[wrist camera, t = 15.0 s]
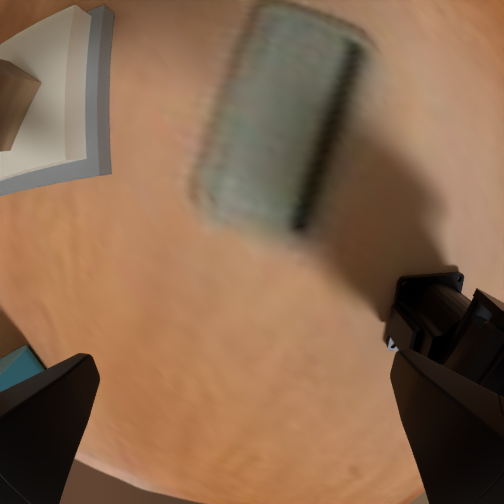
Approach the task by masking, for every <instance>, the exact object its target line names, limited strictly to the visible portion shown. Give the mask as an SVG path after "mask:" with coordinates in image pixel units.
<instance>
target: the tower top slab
mask: <svg viewBox="0 0 504 504" xmlns="http://www.w3.org/2000/svg"><path fill="white" fill-rule="evenodd" d="M91 18H92V16H91V15H89V14H88V13H86V12H85V11H84V10H82V9H81V8H79V7H78V6H77V5H73V6H70V7H68V8H66V9H64V10H61V11H59V12H57V13H55V14H53V15H51V16H49V17H47V18H45V19H43V20H41V21H39V22H37V23H35V24H33V25H32V26H30V27H28V28H26V29H25V30H23V31H21V32H19V33H18V34H16V35H14V36H13V37H11V38H9V39H8V40H6V41H5V42H3V43H2V44H0V59H2V60H6V61H10V62H11V63H13V64H14V65H16V66H17V67H19V68H20V69H22V70H23V71H25V72H26V73H28V74H29V75H31V76H32V77H34V78H35V79H37V80H38V81H40V82H41V83H42V84H41V86H40V87H39V89H38V91H37V93H36V95H35V97H34V99H33V101H32V103H31V105H30V107H29V109H28V111H27V113H26V115H25V117H24V119H23V122H22V124H21V126H20V128H19V131H18V133H17V136H16V138H15V140H14V143H13V145H12V148H11V151H1V152H0V181H1V180H4V179H8V178H11V177H14V176H18V175H21V174H25V173H28V172H32V171H36V170H40V169H44V168H48V167H52V166H56V165H60V164H64V163H69V162H73V161H78V160H83V159H87V156H86V134H85V88H86V67H87V53H88V43H89V33H90V25H91Z"/></svg>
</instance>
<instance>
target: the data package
mask: <svg viewBox="0 0 504 504" xmlns="http://www.w3.org/2000/svg"><path fill="white" fill-rule="evenodd" d="M44 370H45V369H44V368H43V367H42V365H41V364H40V363H39V362H38V360H37V359H36V357H35V356H34V355H33V353H32V352H31V351H30V349H29V348H28V346H27V345H24V346H22V347H20V348H18V349H17V350H15V351H13V352H12V353H10V354H8V355H6V356H5V357H3V358H1V359H0V392H1V391H3V390H5V389H7V388H9V387H11V386H13V385H16V384H18V383H20V382H22V381H24V380H26V379H28V378H30V377H32V376H34V375H36V374H38V373H40V372H42V371H44Z"/></svg>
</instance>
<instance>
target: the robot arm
mask: <svg viewBox="0 0 504 504" xmlns="http://www.w3.org/2000/svg"><path fill="white" fill-rule="evenodd" d="M458 277H459V279H458ZM457 279H458V280H457ZM405 281H406V283H405V284H404V285H403V286H402V284H403V282H405ZM463 281H464V275H463V274H462V273H460V272H451V273H439V274H427V275H414V276H403V277H401V278H399V280H398V282H397V288H396V295H395V301H394V304H393V305H392V309H391V315H390V320H389V326H388V331H387V333H388V340H387V347H388V349H389V350H390V351H394V350H398V351H397V352H396V354H395V357H394V361H393V365H392V369H391V373H390V379H391V383H392V387H393V390H394V394H395V398H396V402H397V406H398V410H399V414H400V418H401V421H402V424H403V427H404V430H405V432H406V435H407V438H408V441H409V443H410V446H411V449H412V452H413V455H414V458H415V461H416V464H417V467H418V470H419V473H420V476H421V479H422V482H423V485H424V488H425V491H426V495H427V498H428V501H429V504H504V303H503V302H501V301H499V300H498V299H496V298H494V297H492V296H490V295H489V294H487V293H485V292H483V291H481V290H479V289H478V288H477V289H476V291H475V293H474V294H473V296H474V297H473V299H472V301H471V300H469V299H468V298H467V297H466V296H464V295H463V294H462V293H461V291H462V286H463ZM393 343H394V345H392V344H393ZM391 345H392V346H391ZM99 383H100V375H99V372H98V370H97V367H96V364H95V362H94V359H93V357H92V356H91V355H90V354H84V353H78V354H76V355H74V356H72V357H70V358H68V359H66V360H64V361H62V362H60V363H58V364H56V365H54V366H52V367H50V368H48V369H46V370H44V371H42V372H40V373H38V374H36V375H34V376H32V377H30V378H28V379H26V380H24V381H22V382H20V383H18V384H16V385H13V386H11V387H9V388H7V389H5V390H3V391H1V392H0V504H59V503H60V500H61V496H62V493H63V490H64V487H65V484H66V481H67V478H68V474H69V472H70V469H71V466H72V463H73V460H74V458H75V455H76V452H77V449H78V447H79V444H80V441H81V439H82V436H83V434H84V431H85V428H86V426H87V423H88V420H89V417H90V414H91V410H92V407H93V403H94V400H95V396H96V393H97V389H98V386H99Z"/></svg>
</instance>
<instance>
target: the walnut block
mask: <svg viewBox="0 0 504 504" xmlns="http://www.w3.org/2000/svg"><path fill="white" fill-rule="evenodd" d="M41 84H42V83H41V82H40V81H38V80H37V79H35V78H34V77H32V76H31V75H29V74H28V73H26V72H25V71H23V70H22V69H20V68H19V67H17V66H16V65H14V64H13V63H11V62H10V61H6V60H2V59H0V152H1V151H11V148H12V145H13V143H14V140H15V138H16V136H17V133H18V131H19V128H20V126H21V124H22V122H23V119H24V117H25V115H26V113H27V111H28V109H29V107H30V105H31V103H32V101H33V99H34V97H35V95H36V93H37V91H38V89H39V87H40V86H41Z"/></svg>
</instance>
